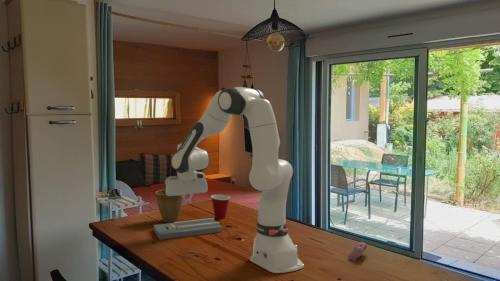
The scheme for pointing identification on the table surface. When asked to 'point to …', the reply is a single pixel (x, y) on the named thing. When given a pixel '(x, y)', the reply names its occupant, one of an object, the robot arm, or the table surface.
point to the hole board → (187, 228)
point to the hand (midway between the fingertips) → (187, 203)
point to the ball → (171, 227)
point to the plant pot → (169, 206)
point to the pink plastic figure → (358, 251)
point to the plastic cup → (220, 205)
